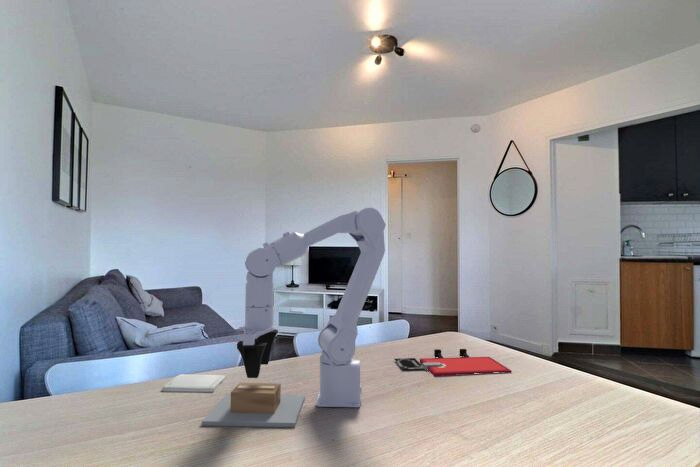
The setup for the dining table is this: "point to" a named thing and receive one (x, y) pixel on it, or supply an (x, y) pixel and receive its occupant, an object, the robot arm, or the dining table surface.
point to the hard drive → (195, 383)
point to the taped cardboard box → (255, 398)
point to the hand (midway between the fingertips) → (258, 370)
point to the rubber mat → (256, 414)
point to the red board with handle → (453, 364)
